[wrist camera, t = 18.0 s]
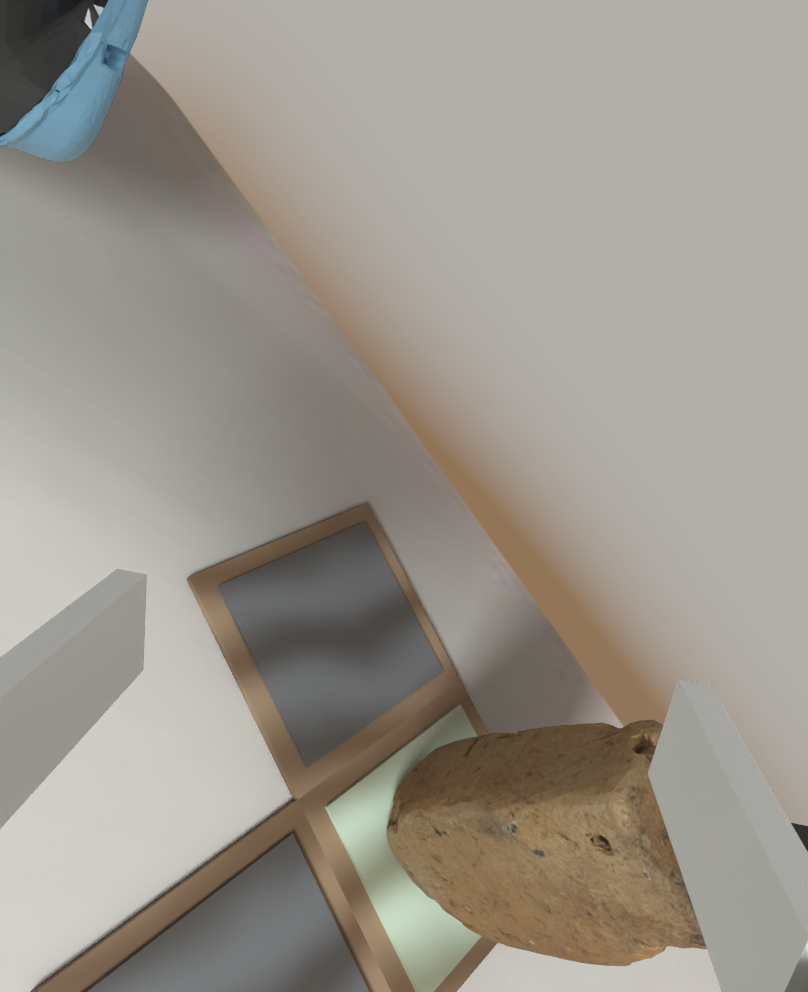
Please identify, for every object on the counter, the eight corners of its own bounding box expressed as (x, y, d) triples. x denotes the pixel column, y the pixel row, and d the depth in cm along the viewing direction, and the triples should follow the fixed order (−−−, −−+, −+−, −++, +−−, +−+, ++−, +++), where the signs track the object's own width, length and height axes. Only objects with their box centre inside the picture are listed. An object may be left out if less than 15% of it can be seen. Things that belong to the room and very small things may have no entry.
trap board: (-98, 696, 32) (-99, 693, 31) (363, 505, 52) (370, 501, 51) (169, 1321, 29) (176, 1335, 28) (553, 868, 48) (563, 869, 48)
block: (358, 812, 41) (605, 805, 26) (430, 732, 46) (674, 687, 31) (457, 957, 41) (764, 1035, 26) (519, 862, 46) (808, 880, 31)
